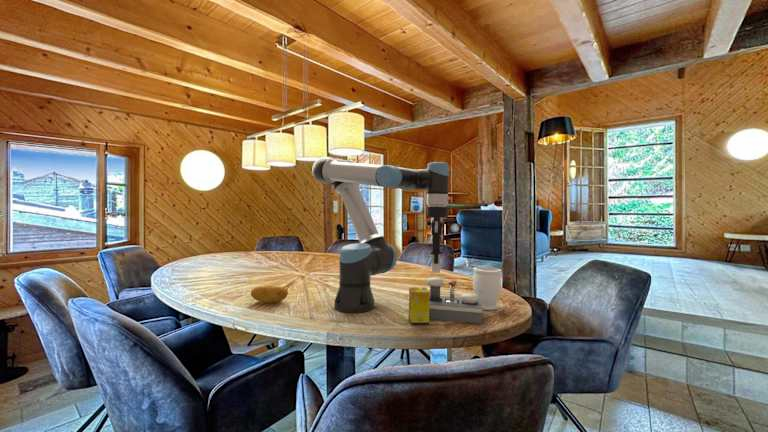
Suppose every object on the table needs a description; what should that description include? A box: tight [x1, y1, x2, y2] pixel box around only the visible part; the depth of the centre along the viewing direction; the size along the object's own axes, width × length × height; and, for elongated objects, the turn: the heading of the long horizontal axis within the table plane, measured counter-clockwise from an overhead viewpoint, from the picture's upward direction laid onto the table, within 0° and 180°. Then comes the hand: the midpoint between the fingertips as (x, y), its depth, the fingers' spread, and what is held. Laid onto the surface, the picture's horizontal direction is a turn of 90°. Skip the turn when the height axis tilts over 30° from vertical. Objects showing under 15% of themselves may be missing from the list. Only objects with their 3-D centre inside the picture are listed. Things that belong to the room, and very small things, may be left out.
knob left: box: [426, 276, 444, 300], centre depth 119 cm, size 6×6×7 cm
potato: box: [250, 285, 289, 304], centre depth 128 cm, size 8×14×7 cm, turn 86°
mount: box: [429, 295, 484, 324], centre depth 117 cm, size 20×12×5 cm, turn 78°
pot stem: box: [446, 279, 458, 304], centre depth 117 cm, size 4×4×12 cm
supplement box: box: [408, 286, 430, 326], centre depth 110 cm, size 6×6×11 cm
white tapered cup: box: [472, 265, 502, 311], centre depth 127 cm, size 11×10×15 cm
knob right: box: [460, 292, 478, 305], centre depth 116 cm, size 6×6×7 cm
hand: (436, 272), depth 118 cm, fingers closed
